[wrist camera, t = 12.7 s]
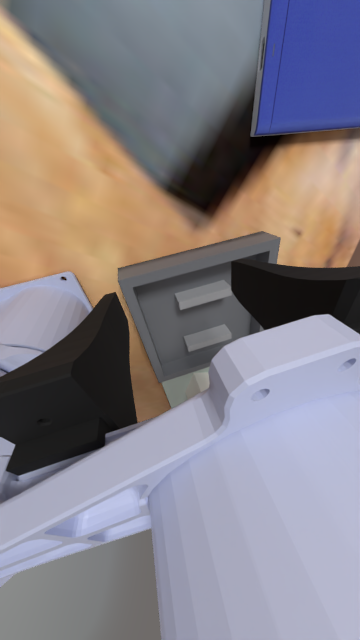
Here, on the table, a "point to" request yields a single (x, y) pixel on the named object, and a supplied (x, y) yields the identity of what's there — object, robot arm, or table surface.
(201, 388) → the block
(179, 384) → the sage mat
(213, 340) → the gray square tray
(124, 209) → the table surface
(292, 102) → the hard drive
